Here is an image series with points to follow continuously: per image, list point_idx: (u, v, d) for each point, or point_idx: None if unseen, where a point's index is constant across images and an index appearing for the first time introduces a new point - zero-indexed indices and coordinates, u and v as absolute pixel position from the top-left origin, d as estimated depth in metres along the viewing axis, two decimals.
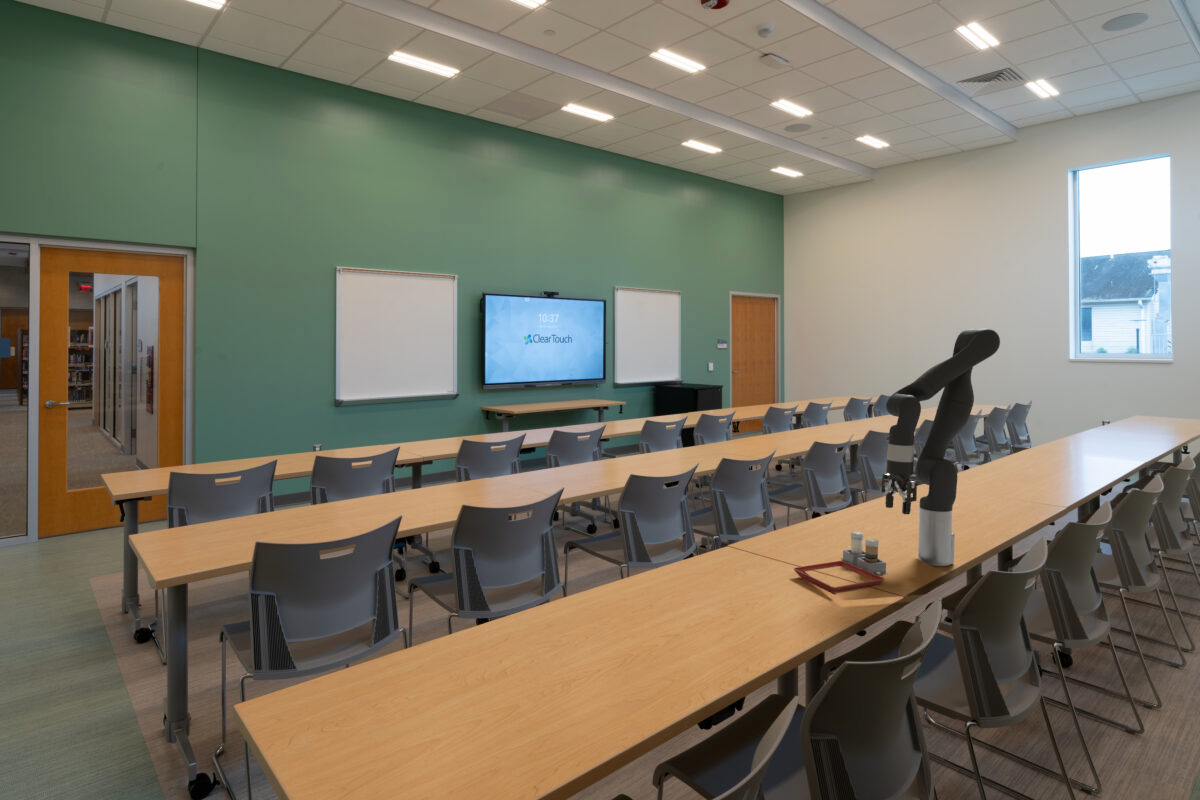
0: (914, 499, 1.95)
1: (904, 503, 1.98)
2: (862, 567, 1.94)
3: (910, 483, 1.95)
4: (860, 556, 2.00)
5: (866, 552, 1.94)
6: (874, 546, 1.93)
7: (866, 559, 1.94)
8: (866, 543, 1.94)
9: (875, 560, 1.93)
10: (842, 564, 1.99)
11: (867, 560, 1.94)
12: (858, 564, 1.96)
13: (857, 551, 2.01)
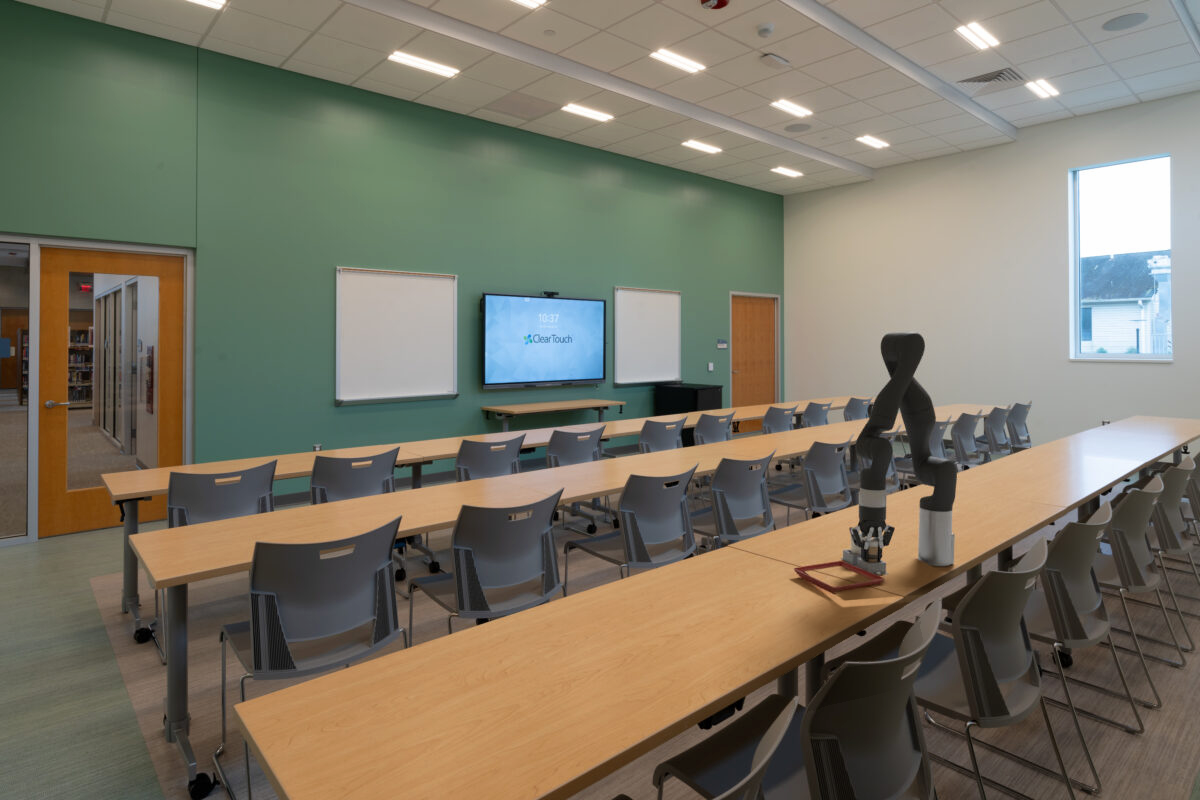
0: None
1: (880, 549, 1.94)
2: (862, 567, 1.94)
3: None
4: (860, 556, 2.00)
5: None
6: (874, 546, 1.93)
7: None
8: None
9: (875, 560, 1.93)
10: (842, 564, 1.99)
11: None
12: (858, 564, 1.96)
13: (857, 551, 2.01)
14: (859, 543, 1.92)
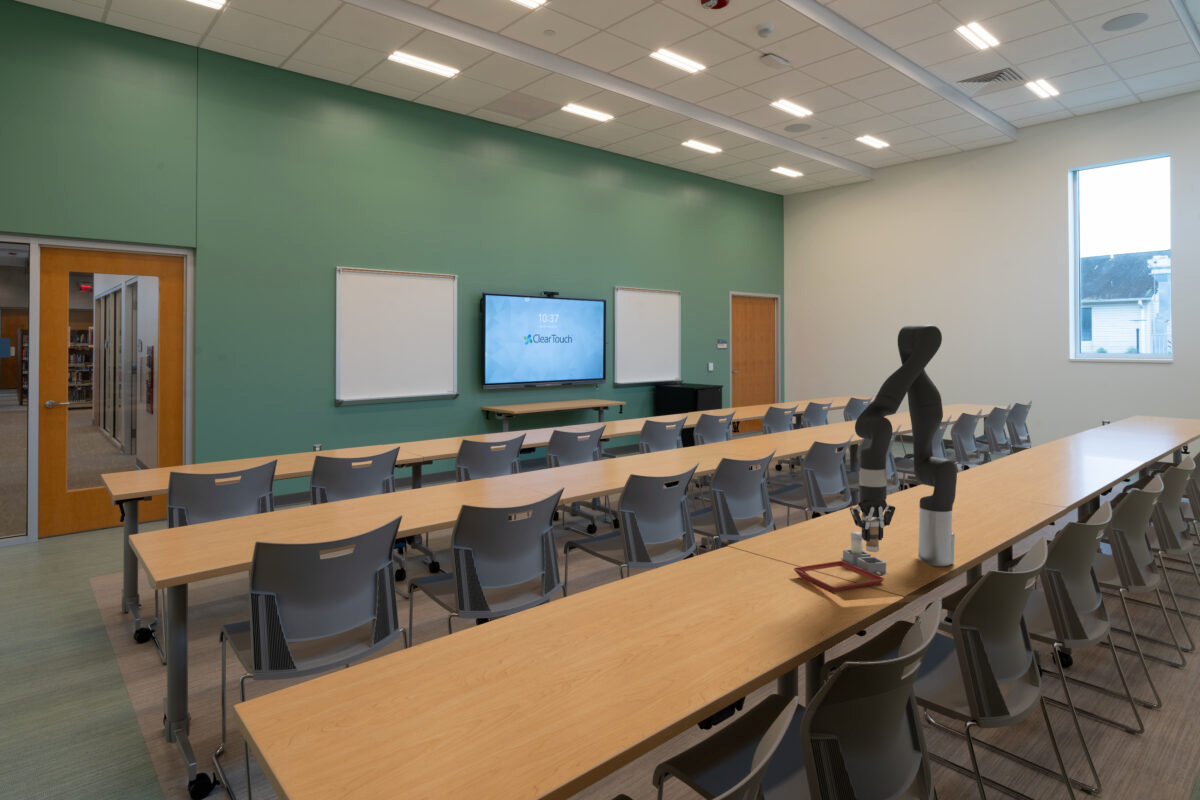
0: None
1: (881, 529, 1.94)
2: (862, 567, 1.94)
3: None
4: (860, 556, 2.00)
5: None
6: (875, 526, 1.92)
7: None
8: None
9: (876, 540, 1.93)
10: (842, 564, 1.99)
11: None
12: (858, 564, 1.96)
13: (857, 551, 2.01)
14: (860, 523, 1.92)
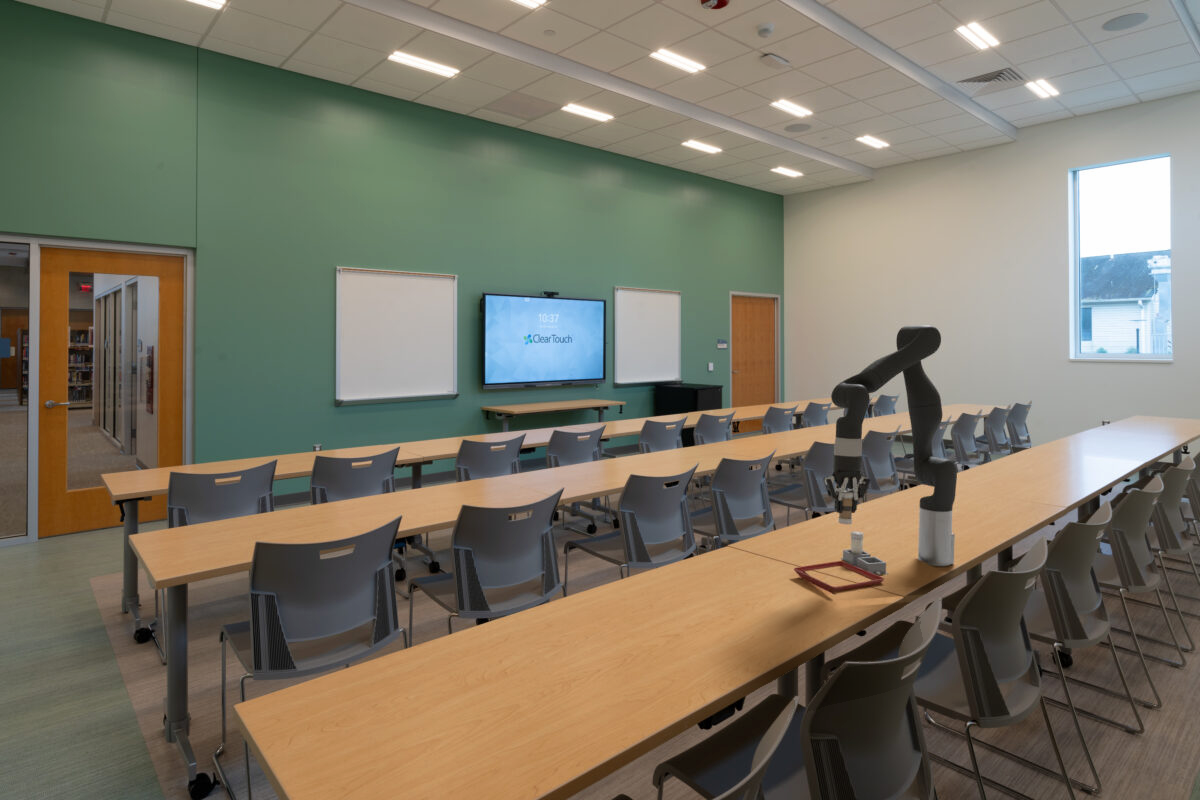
0: None
1: (855, 501, 1.88)
2: (862, 567, 1.94)
3: None
4: (860, 556, 2.00)
5: None
6: (848, 497, 1.87)
7: None
8: None
9: (849, 512, 1.87)
10: (842, 564, 1.99)
11: None
12: (858, 564, 1.96)
13: (857, 551, 2.01)
14: (833, 494, 1.86)
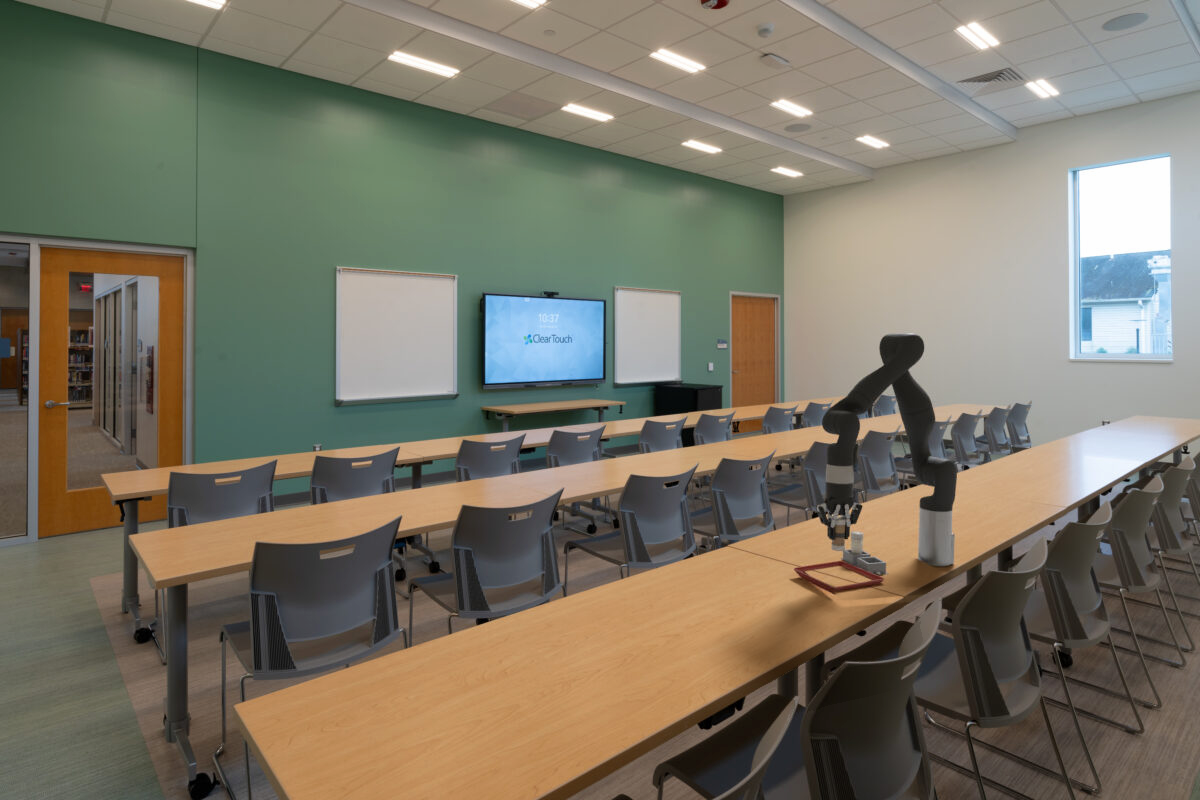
0: None
1: (847, 528, 1.87)
2: (862, 567, 1.94)
3: None
4: (860, 556, 2.00)
5: None
6: (841, 524, 1.86)
7: None
8: None
9: (842, 539, 1.86)
10: (842, 564, 1.99)
11: None
12: (858, 564, 1.96)
13: (857, 551, 2.01)
14: (825, 521, 1.86)
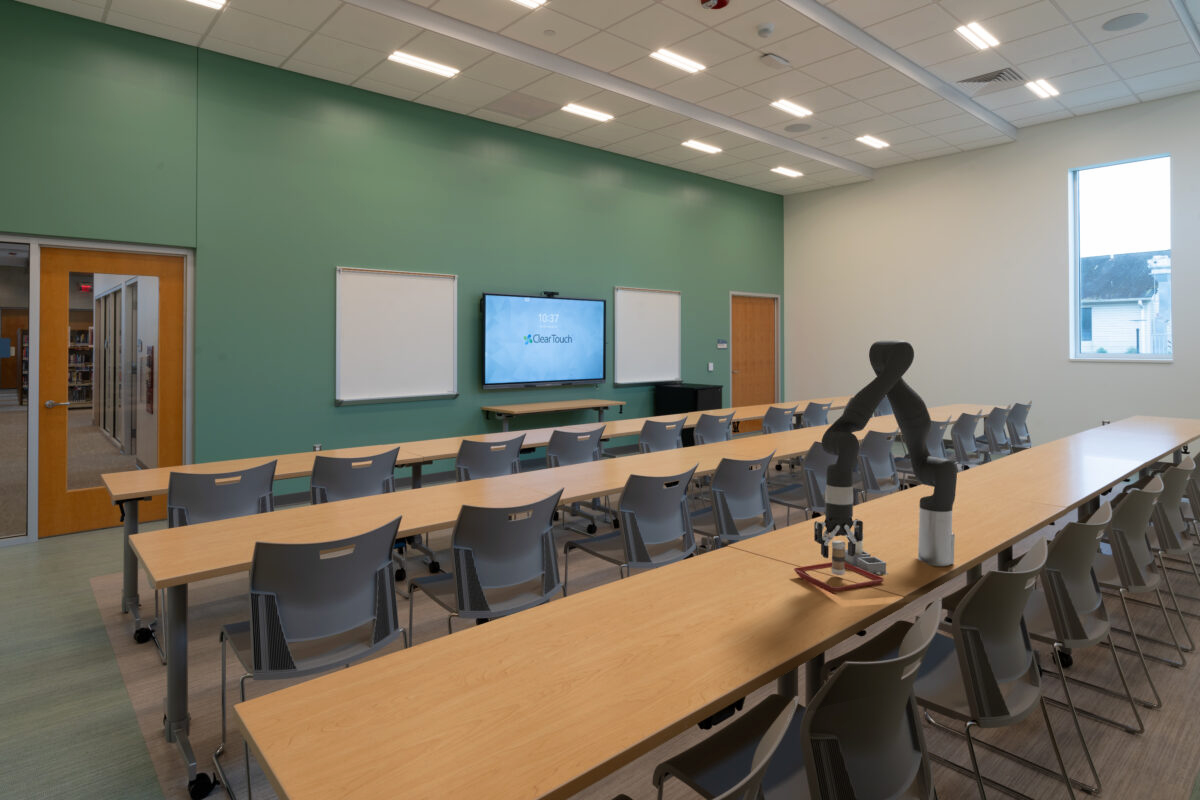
0: None
1: (853, 545, 1.88)
2: (862, 567, 1.94)
3: None
4: (860, 556, 2.00)
5: (833, 554, 1.88)
6: (841, 548, 1.87)
7: (833, 562, 1.88)
8: (833, 545, 1.88)
9: (842, 563, 1.87)
10: None
11: (834, 563, 1.88)
12: (858, 564, 1.96)
13: (857, 551, 2.01)
14: (819, 539, 1.86)
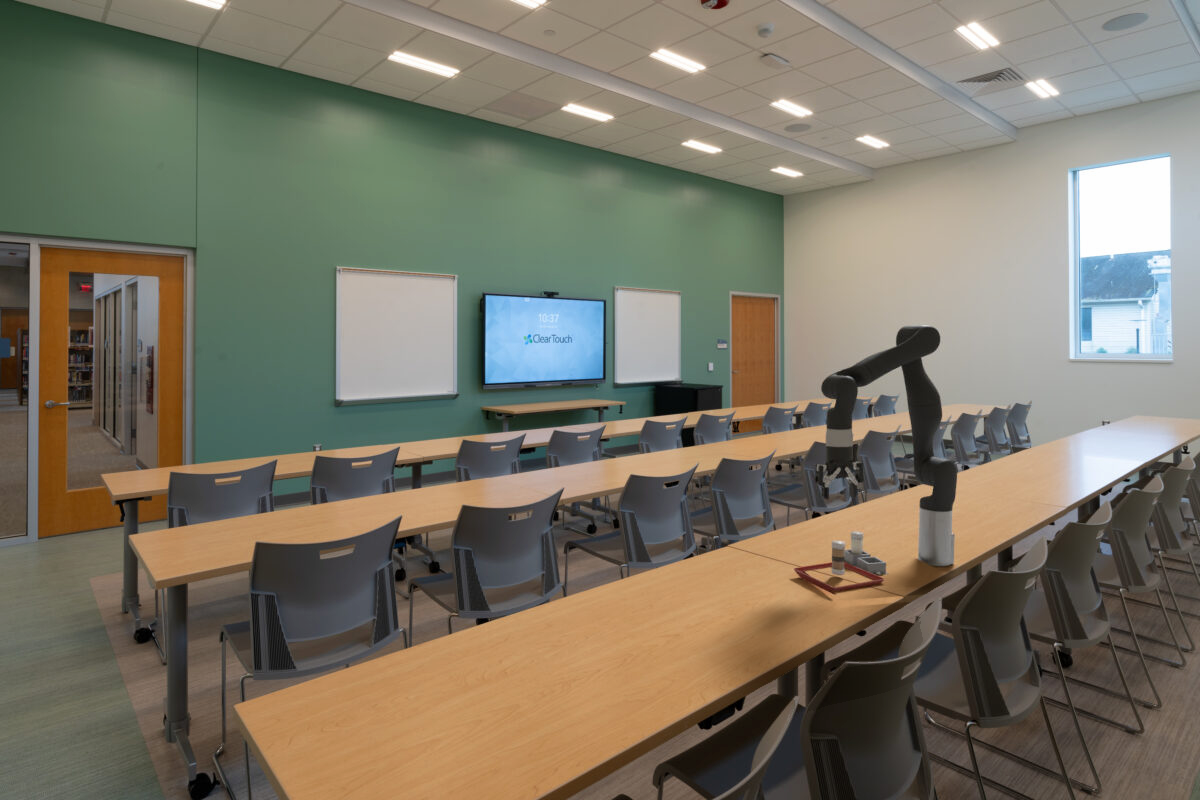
0: None
1: (855, 486, 1.92)
2: (862, 567, 1.94)
3: None
4: (860, 556, 2.00)
5: (833, 554, 1.88)
6: (840, 548, 1.87)
7: (833, 562, 1.88)
8: (832, 545, 1.88)
9: (842, 563, 1.87)
10: None
11: (834, 563, 1.88)
12: (858, 564, 1.96)
13: (857, 551, 2.01)
14: (819, 481, 1.90)
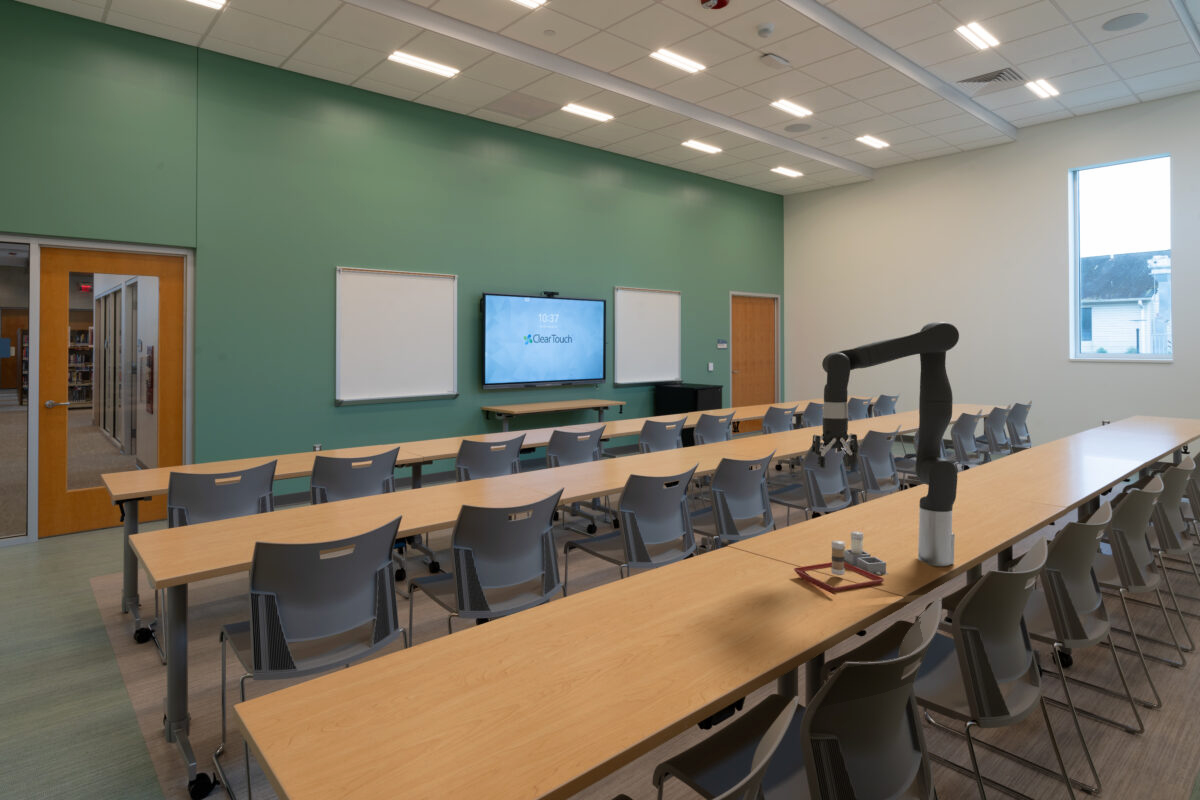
0: None
1: (849, 456, 2.07)
2: (862, 567, 1.94)
3: None
4: (860, 556, 2.00)
5: (832, 554, 1.88)
6: (840, 548, 1.87)
7: (832, 562, 1.88)
8: (832, 545, 1.88)
9: (841, 563, 1.87)
10: None
11: (833, 563, 1.88)
12: (858, 564, 1.96)
13: (857, 551, 2.01)
14: (816, 450, 2.04)
